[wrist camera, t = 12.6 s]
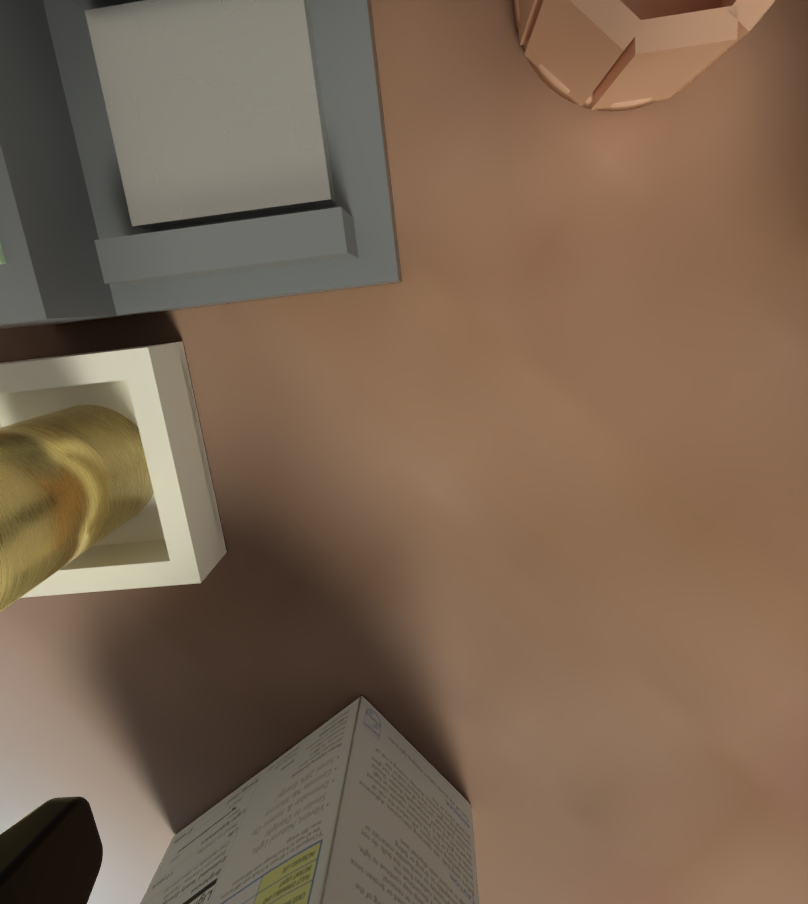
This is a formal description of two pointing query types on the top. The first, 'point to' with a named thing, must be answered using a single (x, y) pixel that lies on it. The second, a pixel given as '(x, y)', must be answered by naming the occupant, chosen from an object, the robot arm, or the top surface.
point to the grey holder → (186, 246)
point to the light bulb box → (330, 828)
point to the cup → (628, 45)
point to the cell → (64, 490)
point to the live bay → (167, 455)
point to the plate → (213, 108)
